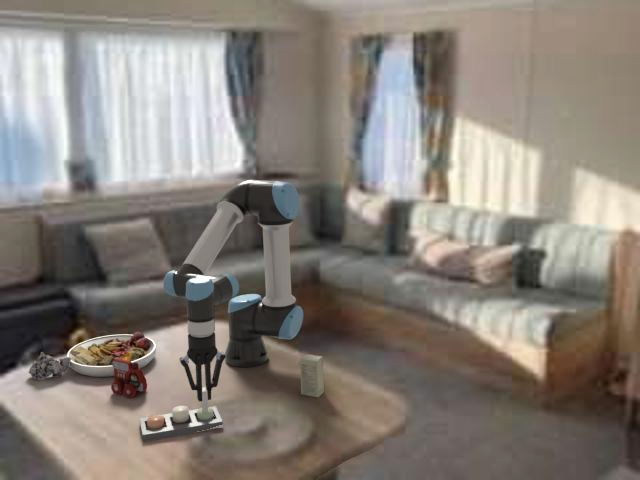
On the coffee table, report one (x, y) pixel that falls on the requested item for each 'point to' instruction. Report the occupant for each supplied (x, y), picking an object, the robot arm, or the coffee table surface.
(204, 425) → the frame
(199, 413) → the button sage
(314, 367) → the skincare box
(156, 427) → the button terracotta
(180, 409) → the button cream
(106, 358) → the bowl
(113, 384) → the toy fire truck
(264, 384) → the coffee table surface
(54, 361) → the mineral specimen
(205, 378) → the robot arm
